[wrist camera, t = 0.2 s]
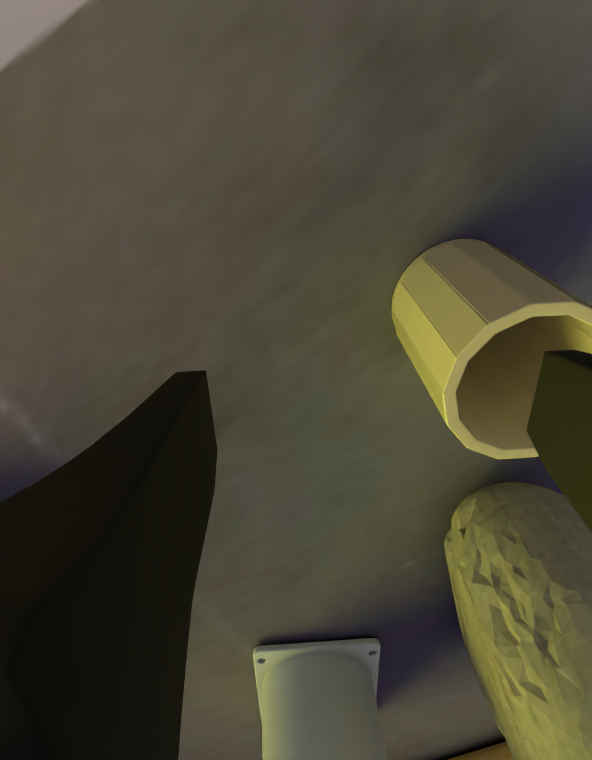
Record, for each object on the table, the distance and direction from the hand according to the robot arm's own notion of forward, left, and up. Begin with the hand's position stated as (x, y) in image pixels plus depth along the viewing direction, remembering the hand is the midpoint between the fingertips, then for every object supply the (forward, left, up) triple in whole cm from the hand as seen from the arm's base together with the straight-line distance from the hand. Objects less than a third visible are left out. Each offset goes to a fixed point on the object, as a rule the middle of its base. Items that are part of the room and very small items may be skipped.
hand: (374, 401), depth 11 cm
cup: (-2, -5, -10) cm, 11 cm away
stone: (-18, -10, -10) cm, 23 cm away
